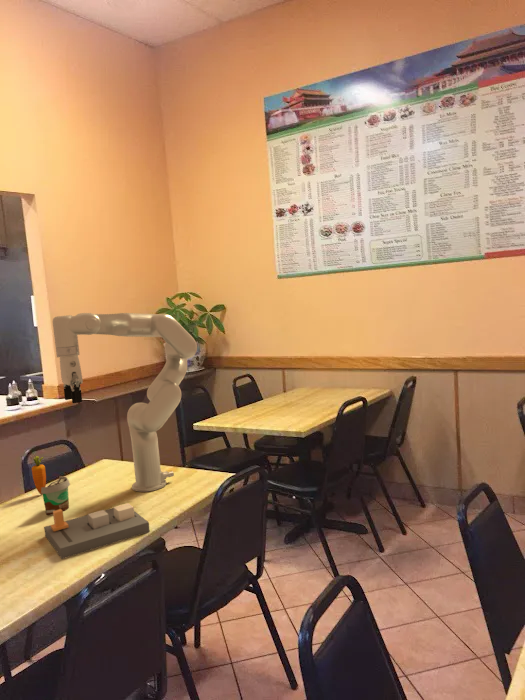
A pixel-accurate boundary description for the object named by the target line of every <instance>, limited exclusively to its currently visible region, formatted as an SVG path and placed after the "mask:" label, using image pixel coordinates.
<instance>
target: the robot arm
mask: <svg viewBox="0 0 525 700" xmlns="http://www.w3.org/2000/svg"><path fill="white" fill-rule="evenodd" d="M52 328H53V329H52V330H53V336H54V337H53V338H54V348H55V353H56V358H59V368H60V377H61V382H62V383H63V393H64V400H66V401H68V400H69V401H70V400H71V403H72V404H79V403H82V402H83V395H82V388H81V384H83V383H84V382H83V375H82V369H81V364H80V363H81V362H80V358H79V356H80V346H79V339H78V338H79V335H80V336H82V335H84V336H90V335H91V336H92V335H106V336H107V335H108V336H117V337H132V338H133V337H135V338H137V337H138V338H139V337H140V338H141V337H142V338H143V337H144V338H162V339H163V341H165V343H164V352H165V356H166V361H165V364H164V366H163V368H162V369H161V371H159V373H158V374H157V376H156V377H155V378H154V380H153V381H152V382H151V384H150V385H149V386H148V389H147V390H146V396H147V399H148V400H149V402H148V403H146V402H136V403H133V404H132V405H131V406H130V407H129V409H128V411H127V413H126V414H127V415H126V421H127V426H128V429H129V435H130V440H131V441H130V442H131V451H132V459H133V468H134V475H135V477H134V478H135V482H133V483H132V486H131V489H132V490H133V491H134V492H141V493H144V492H152V491H157V490H160V489H162V488H164V487H166V486H167V480H166V479H167V478H171V477H175V475H174V471H173V470H171V471H167V470H166V471H162V470H161V460H160V459H161V458H160V450H159V439H158V434H157V431H159V430H160V429H161V428H163V426H164V425H165V423H166V422H167V421H168V419H169V418H170V417H171V416H172V415H173V413H174V411H175V410H176V408H177V407H178V406H179V404H180V402H181V401H182V400H181V399H182V390H181V388H180V385H181V382H182V381H183V379H184V378H185V376H186V373H187V370H188V359H190V358H193V357H194V356H195V355H196V353H197V350H198V345H197V344H198V343H197V342H196V340H195V338H194V336H192V335H191V334H190V333H189V332H188V330H186V329H185V328H184V327H183V326H182V325H181V323H180V322H178V320H176V318H174V317H173V316H172V315H169V314H167V313H166V314H165V313H164V314H163V313H159V314H158V313H133V312H119V313H91V312H81V313H77V314H76V315H71V314H69V315H58V316H55V317H53V318H52Z"/></svg>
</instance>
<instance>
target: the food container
mask: <svg viewBox="0 0 525 700" xmlns="http://www.w3.org/2000/svg"><path fill="white" fill-rule="evenodd" d="M70 485H71V483H70V480H69V479H68V477H67V476H62V475H60V476H59V477H58V479H57V480H55V481H53V482H51V483H50V484H48V485H47V486H45V487H41V494H42V498H43V503H44V509H45V513H46V515H47V516H51V515H53V511H56V510H59V509H61V510H62V511H63V513H64V512H66V511H68V510H69V509H70V505H69V504H70V502H69V501H70V499H69V487H70ZM41 494H40V495H41Z"/></svg>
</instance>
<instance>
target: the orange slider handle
mask: <svg viewBox="0 0 525 700" xmlns="http://www.w3.org/2000/svg"><path fill="white" fill-rule="evenodd" d="M52 517H53V521H54V522H53V524H54V525H53V524H50V525H51V529H52V530H53V531H58V530H61V529H65V528H68V527H69V525H68V524H67V523H66V521H67V520H64V512H63V511H62V510H61V509H59V510H56V511H53V516H52ZM64 521H65V522H64Z"/></svg>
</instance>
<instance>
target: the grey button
mask: <svg viewBox="0 0 525 700" xmlns="http://www.w3.org/2000/svg"><path fill="white" fill-rule="evenodd" d="M104 510H105V509H101V510H97V511H95V512H89V513H87V515H88V519H89V527H90V528H91V529H96V528H99V527H102V526H106V525H109V516H108V513H106V512H105V511H104Z"/></svg>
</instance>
